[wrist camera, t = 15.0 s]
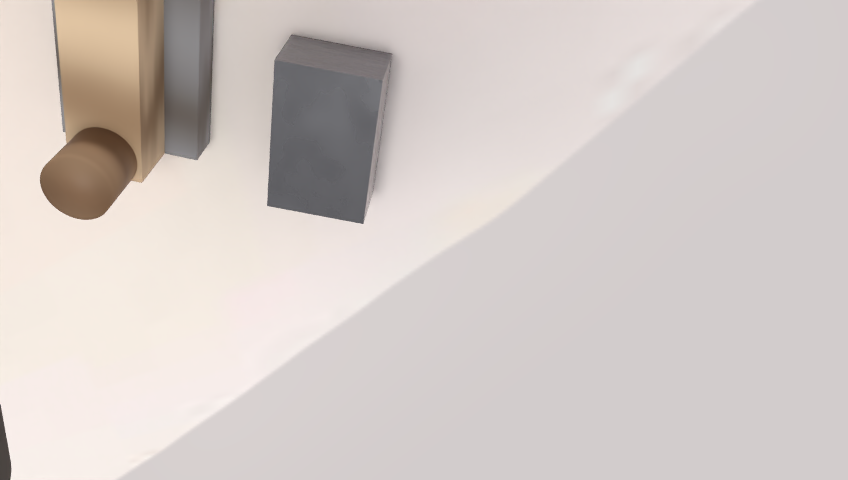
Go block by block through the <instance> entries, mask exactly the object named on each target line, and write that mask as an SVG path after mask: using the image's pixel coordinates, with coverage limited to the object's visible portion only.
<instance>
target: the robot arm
mask: <svg viewBox="0 0 848 480" xmlns="http://www.w3.org/2000/svg"><path fill="white" fill-rule="evenodd" d="M10 477H11V461H10V455H9V450H8V444H7V438H6V433H5V427H4V422H3V416H2V410H1V405H0V480H10Z"/></svg>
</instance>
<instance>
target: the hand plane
mask: <svg viewBox="0 0 848 480" xmlns="http://www.w3.org/2000/svg"><path fill="white" fill-rule="evenodd" d="M52 10H53V22H54V33H55V44H56V56H57V67H58V78H59V90H60V101H61V112H62V124H63V132H66V142H67V144H66V145H65V146H64V147H63V148H62V149H61V150H60V151H59V152H58V153H57V154H56V155H55V156H54V157H53V158H52V159H51V160H50V161H49V162H48V163H47V164H46V165H45V167H44V168H43V170H42V172H41V175H40V184H41V188H42V191H43V193H44V195H45V196H46V198H47V199H48V201H49V202H50V203H51V204H52V205H53V206H54V207H55V208H56V209H58V210H59V211H61V212H62V213H64V214H66V215H68V216H70V217H73V218H77V219H83V220H89V219H95V218H98V217H100V216H102V215H103V214H104V213H105V212H106V211H107V210H108V209H109V208H110V206H111V205H112V204H113V202H114V201H115V200H116V199H117V197H118V196H119V195H120V194H121V192H122V191H123V190H124V189H125V187H126V186H127V185H128V184H129V182H130V181H136V182H141V183H142V182H143V181H144V179H145V178H146V177H147V175H148V174H149V173H150V172H151V170H152V169H153V168H154V166H155V165H156V164H157V162H158V161H159V160H160V159H161V157H162V156H163V155H164V153H166V154H171V155H175V156H180V157H185V158H189V159H194V160H197V159H198V158H199V157H200V155H201V154H202V152H203V151H204V149H205V148H206V146H207V145H208V144H209V142H210V112H211V80H212V47H213V15H214V0H52Z"/></svg>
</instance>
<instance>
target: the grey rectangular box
mask: <svg viewBox="0 0 848 480" xmlns="http://www.w3.org/2000/svg"><path fill="white" fill-rule="evenodd" d="M391 60H392V54H391V53H386V52H380V51H375V50H370V49H364V48H359V47H354V46H349V45H343V44H338V43H333V42H328V41H322V40H317V39H312V38H306V37H301V36H296V35H291V36H290V38H289V39H288V41H287V42H286V44H285V45H284V47H283V48H282V50H281V51H280V53H279V54H278V56H277V57H276V59H275V64H274V84H273V103H272V123H271V142H270V162H269V181H268V201H267V206H271V207H276V208H282V209H287V210H292V211H298V212H303V213H308V214H313V215H319V216H324V217H329V218H335V219H340V220H345V221H351V222H356V223H361V224H363V223H364V220H365V217H366V213H367V210H368V207H369V203H370V200H371V197H372V193H373V189H374V181H375V174H376V167H377V160H378V153H379V146H380V138H381V131H382V124H383V117H384V110H385V103H386V95H387V88H388V81H389V74H390V67H391Z"/></svg>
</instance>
